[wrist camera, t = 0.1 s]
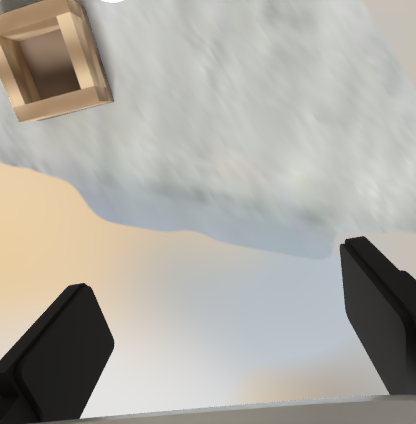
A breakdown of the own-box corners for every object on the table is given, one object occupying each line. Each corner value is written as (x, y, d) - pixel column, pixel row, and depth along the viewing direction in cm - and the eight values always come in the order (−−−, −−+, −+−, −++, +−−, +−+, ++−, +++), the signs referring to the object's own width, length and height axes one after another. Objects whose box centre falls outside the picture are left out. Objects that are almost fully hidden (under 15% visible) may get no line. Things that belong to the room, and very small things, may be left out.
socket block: (6, 32, 36) (-24, 22, 32) (84, 7, 35) (63, -7, 30) (41, 120, 40) (19, 121, 36) (113, 101, 38) (99, 101, 34)
